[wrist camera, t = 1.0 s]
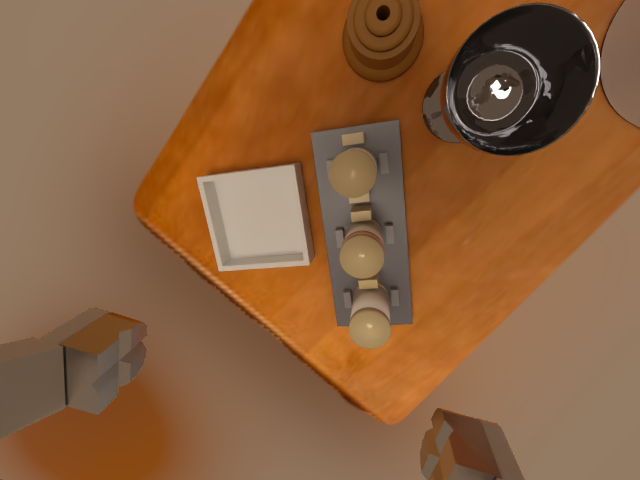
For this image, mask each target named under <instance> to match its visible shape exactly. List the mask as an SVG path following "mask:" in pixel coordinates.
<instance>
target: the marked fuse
mask: <svg viewBox="0 0 640 480" xmlns="http://www.w3.org/2000/svg"><path fill="white" fill-rule="evenodd" d="M384 255H385V252H384V242H383V230H382V227H381V225H380V224H379V223H378V222H377V221H376V220H374V219H371V220H368V221H358V222H352V223H351V224H350V225H349V227H348V230H347V233H346V236H345V239H344V241H343V244H342V246H341V251H340V263H341V266H342V268H343V269H344V270H345V272H346V273H348V274H349V275H351V276H353V277H355V278H360V279H364V278H370V277H372V276H374V275H376V274H377V273H378V272H379V271H380V270H381V268H382V266H383V263H384Z"/></svg>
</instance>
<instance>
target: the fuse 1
mask: <svg viewBox="0 0 640 480" xmlns="http://www.w3.org/2000/svg"><path fill="white" fill-rule="evenodd" d="M376 176H377V161H376V158H375V156H374V154H373V153H372V152H371V151H370V150H369V149H367V148H365V147H360V146H357V147H352V148H350V149H348V150H346V151H344V152H342V153H340V154H339V155H337V156H336V157H335V159H334V160H333V161H332V163H331V165H330V168H329V180H330V183H331V185H332V187H333V189H334V190H335V191H336V192H337V193H338V194H340V195H342V196H344V197H347V198H358V197H361V196H363V195H365V194H367V193H368V192H369V191H370V190H371V189H372V187H373V186H374V184H375V181H376Z"/></svg>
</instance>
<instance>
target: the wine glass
mask: <svg viewBox="0 0 640 480" xmlns="http://www.w3.org/2000/svg"><path fill="white" fill-rule="evenodd" d="M599 74H600V56H599V51H598V46H597V43H596V40H595V38H594V36H593V34H592V32H591V30H590V29H589V28H588V26H587V25H586V23H585V22H584V21H583V20H582V19H580V18H579V17H578V16H577V15H576V14H575V13H573V12H571V11H569V10H567V9H565V8H563V7H560V6H556V5H553V4H546V3H530V4H522V5H519V6H515V7H512V8H509V9H506V10H504V11H502V12H500V13H498V14H496V15H494V16H493V17H492V18H490V19H489V20H487V21H486V22H484V23H483V24H482V25H480V26H479V27H478V28H477V29H476V30H475V31H474V32H473V33H472V34H471V35H470V36H469V37H468V38H467V39H466V40H465V41H464V42H463V44H462V45H461V46H460V48H459V49H458V50H457V51H456V53H455V54H454V56H453V57H452V59H451V61H450V63H449V64H448V66H447V69H446V71H445V72H443V73H442V74H440V75H439V76H438V77H437V78H436V79H435V80H434V81H433V82H432V83H431V85H430V86H429V88H428V90H427V91H426V94H425V97H424V101H423V110H422V112H423V118H424V121H425V124H426V126H427V128H428V129H429V130H430V132H431V133H432V134H433V135H434V136H436V137H437V138H439V139H441V140H443V141H446V142H451V143H461V142H462V143H463V144H464V145H466V146H468V147H470V148H472V149H474V150H477V151H480V152H484V153H487V154H493V155H500V156H515V155H523V154H528V153H532V152H535V151H537V150H540V149H543V148H545V147H547V146H548V145H550V144H552V143H554V142H556V141H557V140H558V139H560V138H561V137H562V136H564V135H565V134H566V133H568V132H569V131H570V130H571V129H572V128H573V127H574V126H575V125H576V124H577V122H578V121H579V120H580V118H581V117H582V116H583V114H584V113H585V112H586V110H587V108H588V106H589V105H590V103H591V101H592V99H593V96H594V94H595V91H596V88H597V85H598V80H599Z"/></svg>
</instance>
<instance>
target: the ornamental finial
mask: <svg viewBox="0 0 640 480" xmlns="http://www.w3.org/2000/svg"><path fill="white" fill-rule="evenodd" d="M396 28H397V29H396ZM368 30H369V31H368ZM408 33H409V34H408ZM406 36H407V37H406ZM423 36H424V26H423V20H422V16H421V13H420V7H419V2H418V0H353V1H352V3H351V5H350V8H349V12H348V17H347V20H346V22H345V26H344V30H343V49H344V53H345V56H346V59H347V61H348V63H349V64H350V66H351V67H352V69H353V70H354V71H355V72H356V73H358V74H359V75H360V76H362V77H364V78H366V79H368V80H372V81H386V80H390V79H393V78H396V77H397V76H399V75H401V74H402V73H404V72H405V71H406V70H407V69H408V68H409V67H410V66H411V65H412V64H413V62H414V61H415V59H416V58H417V56H418V54H419V52H420V49H421V46H422V42H423ZM358 39H359V40H358Z"/></svg>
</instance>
